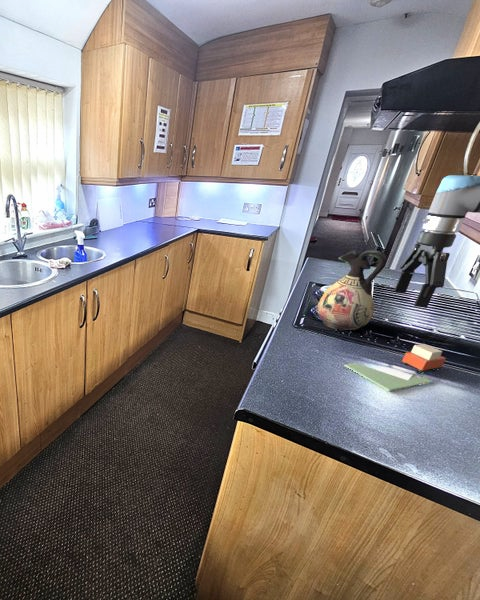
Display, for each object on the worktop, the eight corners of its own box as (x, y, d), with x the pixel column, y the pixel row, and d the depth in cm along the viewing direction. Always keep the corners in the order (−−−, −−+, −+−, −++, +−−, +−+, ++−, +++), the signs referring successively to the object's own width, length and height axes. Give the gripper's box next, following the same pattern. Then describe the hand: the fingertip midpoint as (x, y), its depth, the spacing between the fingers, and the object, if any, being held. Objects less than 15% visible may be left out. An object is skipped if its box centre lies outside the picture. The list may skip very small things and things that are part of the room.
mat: (384, 359, 100) (385, 357, 99) (432, 383, 89) (433, 381, 89) (343, 366, 96) (344, 364, 96) (388, 391, 85) (389, 389, 85)
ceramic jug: (304, 325, 121) (328, 246, 109) (323, 315, 128) (348, 240, 116) (359, 345, 108) (394, 258, 96) (377, 332, 115) (411, 250, 103)
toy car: (419, 375, 92) (430, 354, 90) (399, 365, 97) (409, 345, 94) (439, 371, 94) (450, 350, 92) (419, 362, 99) (428, 342, 96)
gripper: (402, 224, 107) (378, 285, 115) (446, 238, 86) (413, 311, 94) (432, 226, 104) (406, 288, 112) (485, 241, 83) (447, 316, 91)
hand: (409, 299), depth 103 cm, fingers open, 13 cm apart
